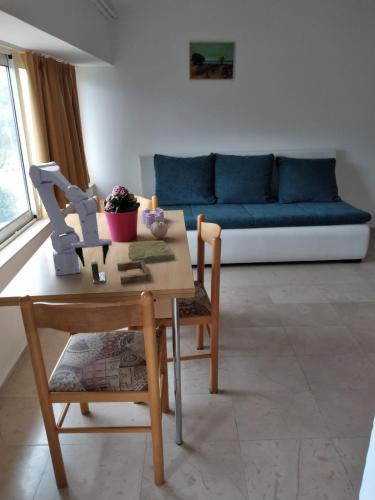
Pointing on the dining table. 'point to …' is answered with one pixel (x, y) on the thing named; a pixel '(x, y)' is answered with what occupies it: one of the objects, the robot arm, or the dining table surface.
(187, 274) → the dining table surface
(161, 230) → the decorative fruit
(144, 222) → the purple lobed block
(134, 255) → the decorative tile
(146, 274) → the frame
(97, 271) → the grey block
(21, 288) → the dining table surface
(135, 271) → the salmon pink panel
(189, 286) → the dining table surface
